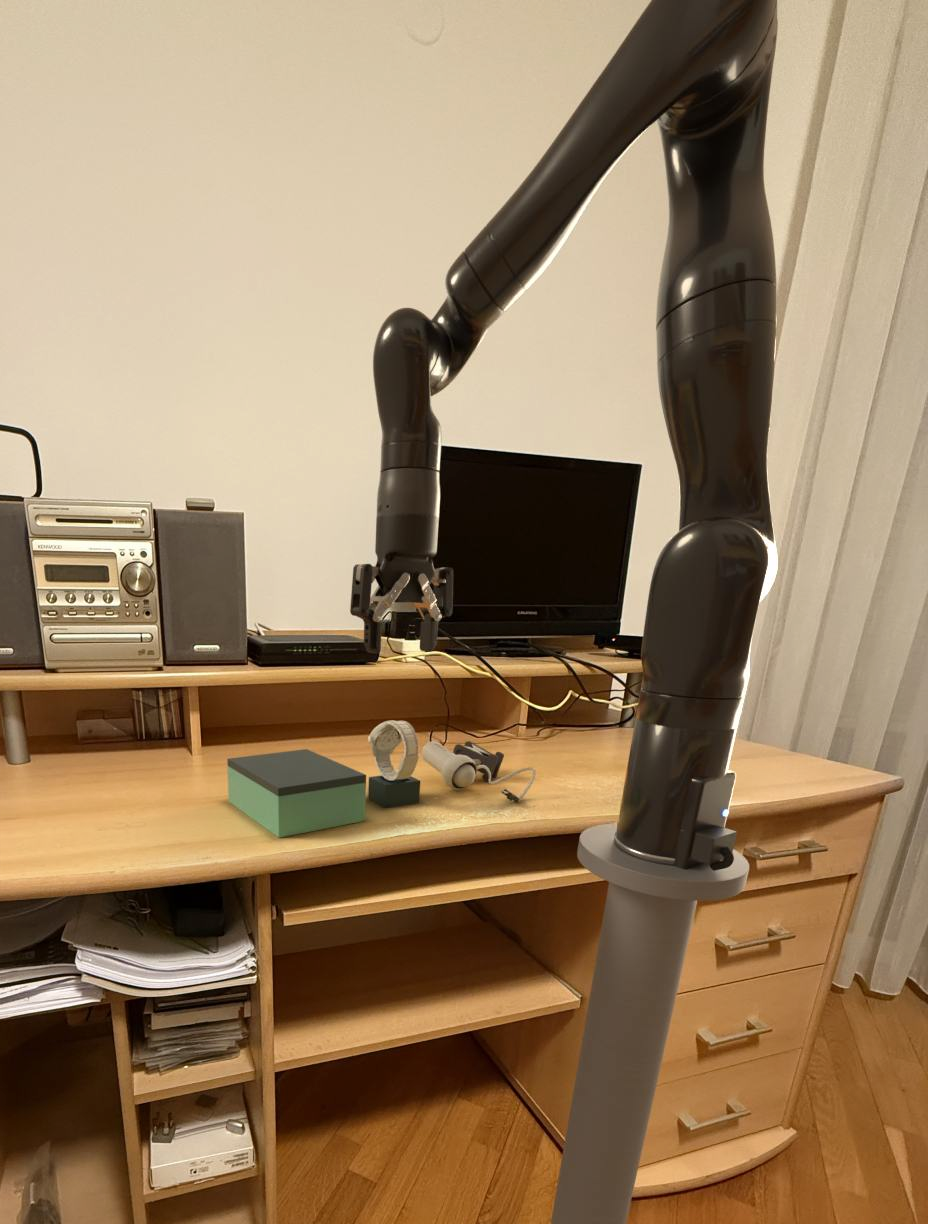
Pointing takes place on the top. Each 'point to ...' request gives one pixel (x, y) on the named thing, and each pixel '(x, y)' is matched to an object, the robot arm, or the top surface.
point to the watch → (392, 784)
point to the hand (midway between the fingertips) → (400, 652)
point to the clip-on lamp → (468, 765)
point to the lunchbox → (296, 791)
